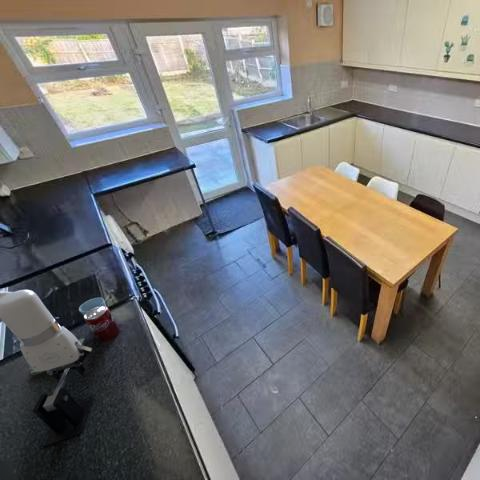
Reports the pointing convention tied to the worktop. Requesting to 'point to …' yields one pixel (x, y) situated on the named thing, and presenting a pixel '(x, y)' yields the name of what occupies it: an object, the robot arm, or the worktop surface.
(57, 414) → the toaster bracket
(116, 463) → the worktop surface
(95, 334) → the soda can
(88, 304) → the cup
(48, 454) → the worktop surface
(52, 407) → the toaster lever
